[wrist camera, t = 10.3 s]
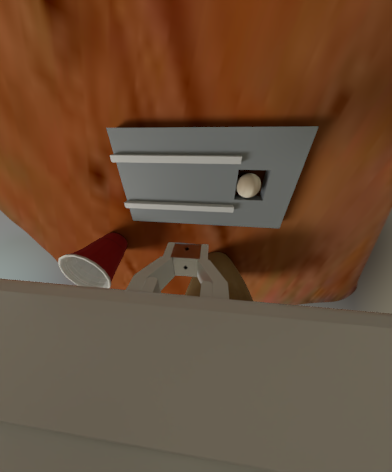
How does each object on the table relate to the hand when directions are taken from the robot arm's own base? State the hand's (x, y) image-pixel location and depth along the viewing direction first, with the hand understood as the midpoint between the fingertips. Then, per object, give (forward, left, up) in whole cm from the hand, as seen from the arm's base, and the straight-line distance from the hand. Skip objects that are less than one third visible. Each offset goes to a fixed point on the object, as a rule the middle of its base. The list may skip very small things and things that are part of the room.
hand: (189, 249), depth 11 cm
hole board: (0, 0, -20) cm, 20 cm away
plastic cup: (+16, -23, -20) cm, 35 cm away
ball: (0, +8, -18) cm, 20 cm away
